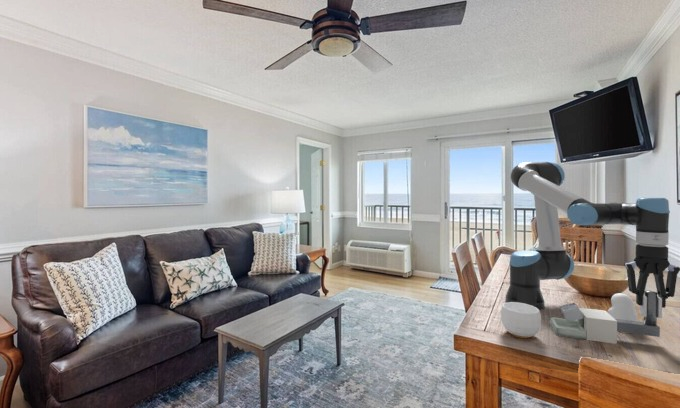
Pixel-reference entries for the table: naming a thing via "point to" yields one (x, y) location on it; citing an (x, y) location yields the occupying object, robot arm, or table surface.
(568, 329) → the tray
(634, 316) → the figurine
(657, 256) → the robot arm
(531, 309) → the white faceted bowl
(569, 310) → the block
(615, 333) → the housing
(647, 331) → the grey l-shaped bracket
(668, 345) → the table surface
